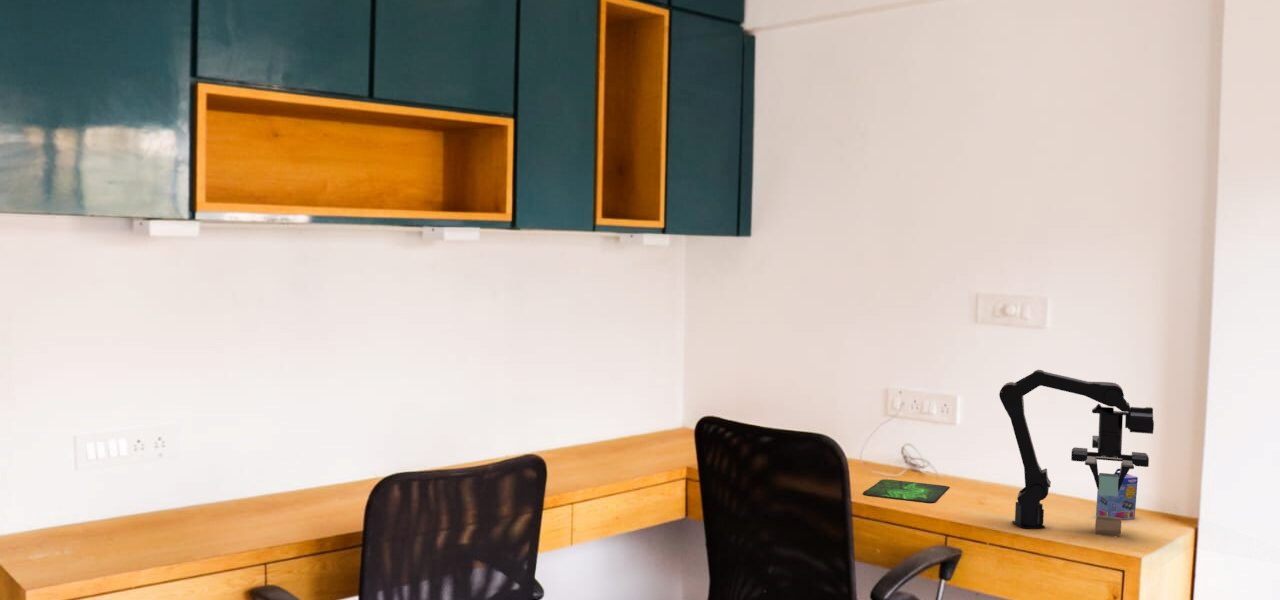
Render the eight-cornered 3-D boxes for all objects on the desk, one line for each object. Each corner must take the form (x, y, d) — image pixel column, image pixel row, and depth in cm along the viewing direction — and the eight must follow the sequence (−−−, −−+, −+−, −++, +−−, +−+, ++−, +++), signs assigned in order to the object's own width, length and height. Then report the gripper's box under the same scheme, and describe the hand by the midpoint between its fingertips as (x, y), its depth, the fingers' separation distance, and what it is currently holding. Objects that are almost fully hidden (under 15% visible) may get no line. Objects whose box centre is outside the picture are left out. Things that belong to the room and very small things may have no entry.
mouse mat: (882, 479, 356) (882, 476, 356) (951, 487, 347) (951, 484, 347) (861, 496, 332) (861, 493, 332) (934, 505, 322) (935, 501, 322)
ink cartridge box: (1109, 521, 305) (1111, 470, 304) (1094, 516, 310) (1096, 466, 310) (1136, 519, 309) (1139, 468, 308) (1121, 514, 314) (1124, 464, 313)
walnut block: (1119, 537, 289) (1120, 522, 289) (1095, 534, 291) (1095, 519, 291) (1120, 532, 294) (1121, 517, 294) (1096, 529, 297) (1097, 515, 297)
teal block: (1117, 496, 288) (1118, 477, 287) (1098, 494, 289) (1099, 476, 289) (1117, 493, 292) (1117, 474, 292) (1098, 491, 294) (1099, 472, 293)
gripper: (1147, 429, 294) (1145, 486, 295) (1072, 423, 301) (1070, 480, 302) (1149, 435, 284) (1147, 495, 284) (1072, 429, 291) (1070, 488, 291)
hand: (1108, 489), depth 291 cm, fingers closed on teal block, 5 cm apart
